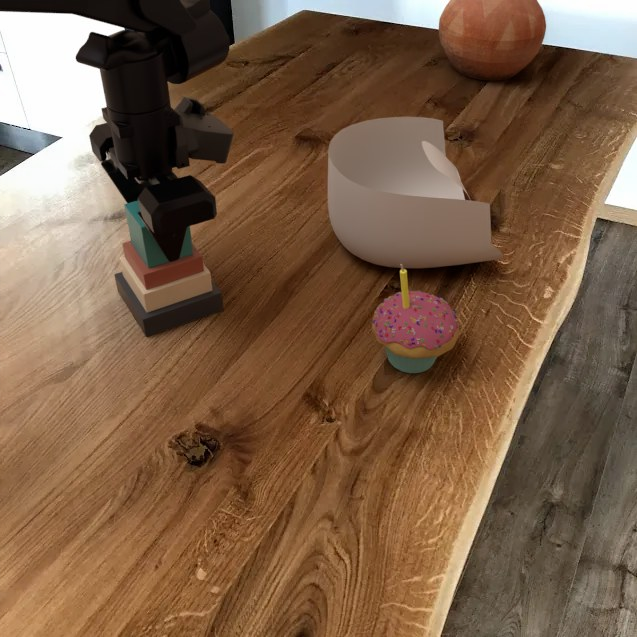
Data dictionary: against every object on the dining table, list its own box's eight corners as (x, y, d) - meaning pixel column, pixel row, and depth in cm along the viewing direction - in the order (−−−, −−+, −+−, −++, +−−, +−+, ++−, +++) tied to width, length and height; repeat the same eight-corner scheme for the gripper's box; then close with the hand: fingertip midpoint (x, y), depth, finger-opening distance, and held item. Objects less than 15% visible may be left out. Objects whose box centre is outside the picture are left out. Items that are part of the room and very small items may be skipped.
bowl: (317, 200, 98) (318, 118, 91) (456, 192, 100) (469, 111, 92) (339, 292, 83) (342, 203, 76) (502, 281, 85) (521, 192, 77)
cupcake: (379, 390, 72) (388, 295, 64) (362, 333, 78) (368, 240, 70) (463, 381, 73) (482, 286, 65) (439, 325, 79) (454, 233, 71)
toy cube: (148, 268, 75) (141, 227, 71) (131, 244, 78) (123, 204, 75) (193, 254, 77) (188, 213, 73) (175, 231, 80) (169, 191, 77)
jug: (423, 79, 129) (436, -42, 116) (446, 45, 142) (460, -69, 129) (528, 96, 125) (554, -30, 112) (542, 58, 137) (567, -58, 124)
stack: (146, 337, 77) (135, 285, 73) (117, 291, 83) (106, 240, 78) (223, 310, 81) (218, 258, 76) (191, 267, 87) (184, 217, 82)
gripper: (264, 121, 64) (270, 265, 74) (180, 51, 76) (195, 183, 86) (142, 151, 59) (166, 300, 69) (74, 72, 71) (103, 209, 82)
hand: (160, 242), depth 77 cm, fingers open, 7 cm apart
